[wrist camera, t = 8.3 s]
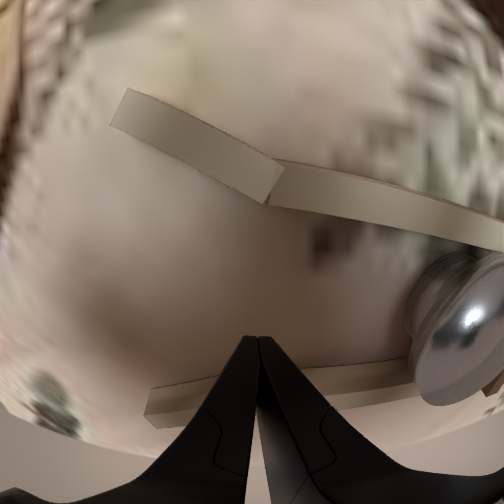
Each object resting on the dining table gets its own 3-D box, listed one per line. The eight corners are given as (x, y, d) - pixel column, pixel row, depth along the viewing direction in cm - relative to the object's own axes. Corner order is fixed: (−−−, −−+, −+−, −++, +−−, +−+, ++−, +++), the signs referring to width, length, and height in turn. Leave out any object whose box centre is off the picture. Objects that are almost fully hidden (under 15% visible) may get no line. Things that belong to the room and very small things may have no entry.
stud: (506, 238, 11) (555, 268, 7) (463, 348, 13) (494, 389, 10) (409, 222, 10) (467, 261, 7) (366, 360, 13) (393, 418, 10)
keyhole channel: (540, 181, 10) (578, 196, 7) (460, 387, 15) (479, 416, 12) (133, 95, 8) (93, 84, 6) (153, 401, 14) (142, 445, 11)
